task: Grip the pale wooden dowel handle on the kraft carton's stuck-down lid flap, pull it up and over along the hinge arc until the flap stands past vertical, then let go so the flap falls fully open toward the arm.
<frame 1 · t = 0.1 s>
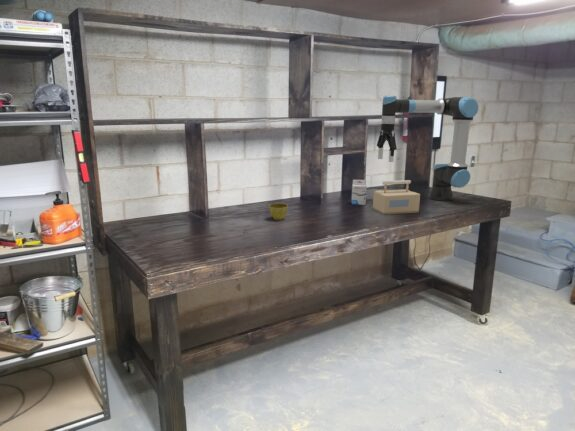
hand: (385, 160, 258), 28 cm above the workbench, fingers open, 13 cm apart
ink box: (358, 204, 273), on the workbench
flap: (394, 186, 256), point 14 cm above the workbench, hinge at -0.1°
flower pot: (278, 219, 236), on the workbench
carton: (395, 210, 257), on the workbench
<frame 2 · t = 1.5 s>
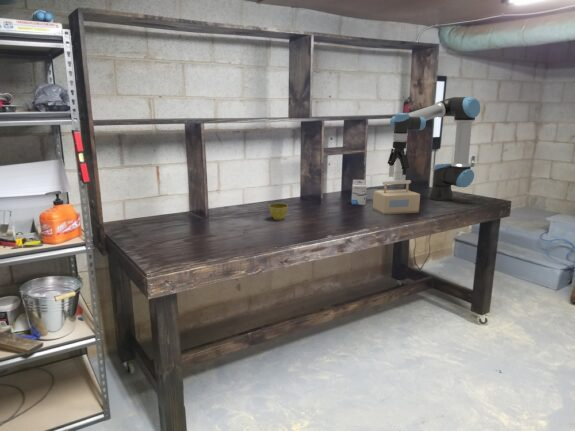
hand: (396, 178, 252), 19 cm above the workbench, fingers open, 13 cm apart
nothing on the workbench moved.
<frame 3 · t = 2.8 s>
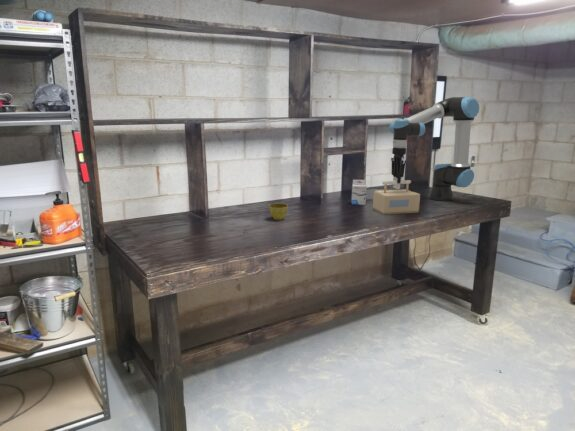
hand: (396, 188, 254), 13 cm above the workbench, fingers closed on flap, 2 cm apart
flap: (394, 186, 256), point 14 cm above the workbench, hinge at -0.1°, touching gripper
everything else where it was.
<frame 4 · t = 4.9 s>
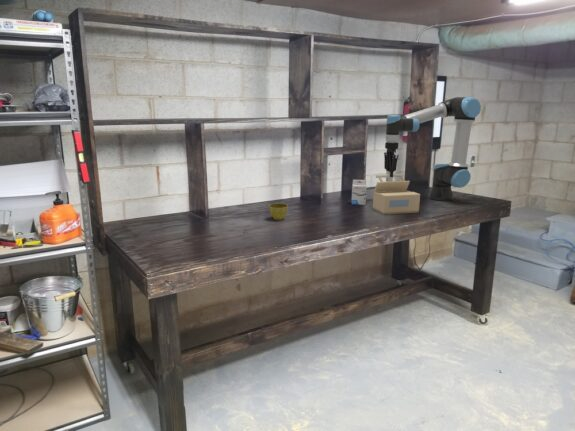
hand: (389, 181, 262), 15 cm above the workbench, fingers closed on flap, 2 cm apart
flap: (389, 182, 261), point 15 cm above the workbench, hinge at 61.2°, touching gripper
everything else where it was.
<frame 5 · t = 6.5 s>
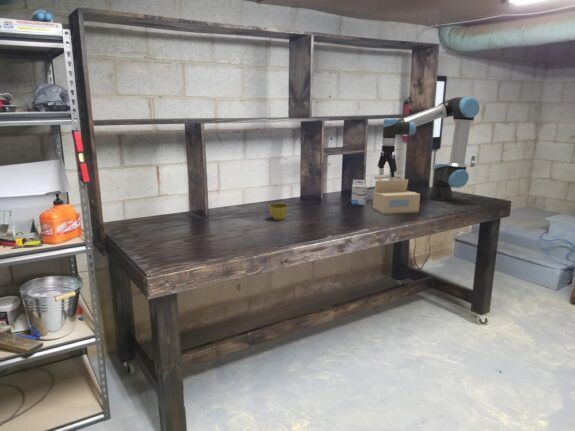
hand: (386, 180, 266), 15 cm above the workbench, fingers open, 13 cm apart
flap: (388, 182, 262), point 15 cm above the workbench, hinge at 76.5°, touching gripper
everything else where it was.
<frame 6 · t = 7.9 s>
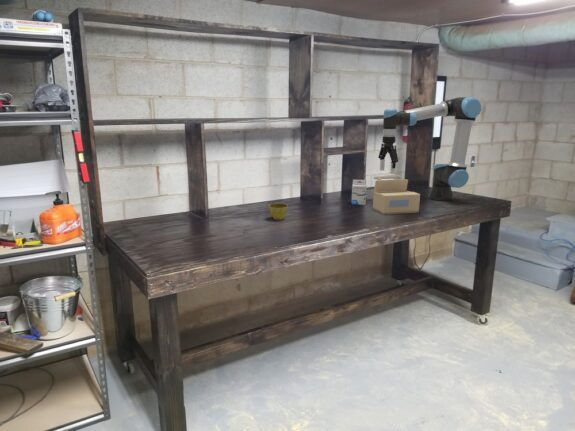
hand: (387, 172, 264), 20 cm above the workbench, fingers open, 13 cm apart
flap: (388, 182, 263), point 14 cm above the workbench, hinge at 79.5°
everything else where it was.
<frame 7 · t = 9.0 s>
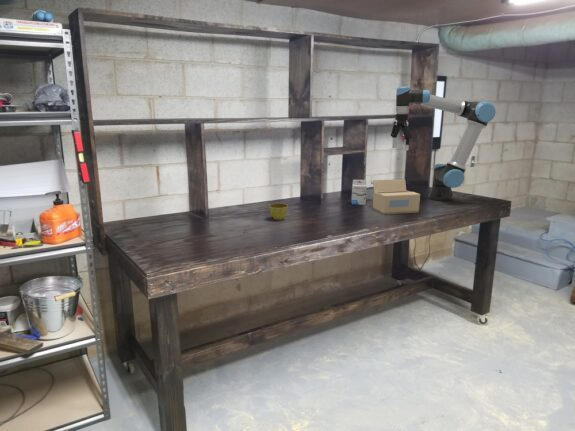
hand: (400, 149, 268), 33 cm above the workbench, fingers open, 13 cm apart
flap: (387, 185, 265), point 12 cm above the workbench, hinge at 108.8°
everything else where it was.
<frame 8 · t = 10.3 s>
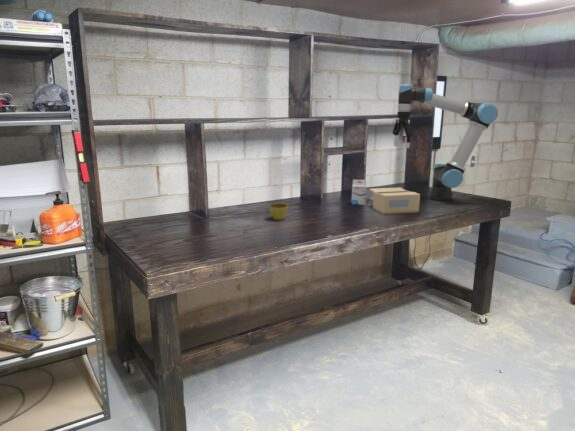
hand: (401, 146, 270), 35 cm above the workbench, fingers open, 13 cm apart
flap: (386, 195, 266), point 7 cm above the workbench, hinge at 174.2°
everything else where it was.
at the end: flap at +175° (first picture: +0°); the gripper is holding nothing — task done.
